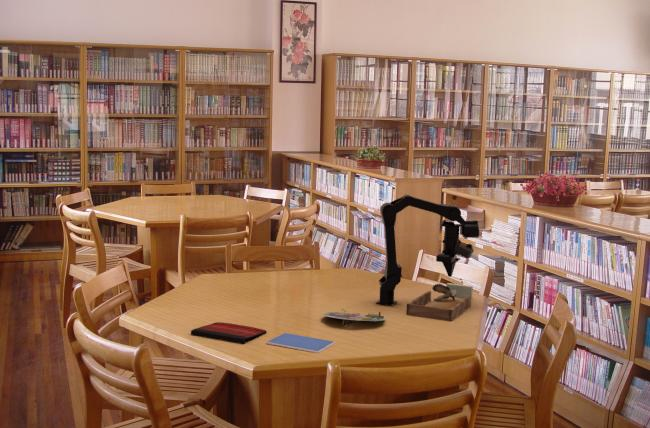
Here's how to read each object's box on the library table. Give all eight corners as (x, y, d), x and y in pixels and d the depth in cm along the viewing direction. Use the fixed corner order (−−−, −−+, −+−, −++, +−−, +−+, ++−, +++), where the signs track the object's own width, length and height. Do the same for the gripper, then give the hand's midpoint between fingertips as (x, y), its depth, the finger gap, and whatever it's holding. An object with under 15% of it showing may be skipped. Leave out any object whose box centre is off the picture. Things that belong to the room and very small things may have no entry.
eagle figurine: (450, 294, 321) (429, 290, 319) (456, 282, 317) (436, 278, 315) (453, 308, 315) (432, 304, 314) (460, 296, 311) (439, 292, 309)
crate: (451, 321, 285) (451, 310, 284) (406, 314, 292) (406, 304, 292) (470, 306, 307) (471, 296, 306) (428, 300, 314) (428, 290, 314)
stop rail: (470, 299, 318) (471, 287, 318) (445, 295, 323) (446, 284, 322) (472, 298, 320) (472, 286, 320) (447, 294, 325) (447, 283, 324)
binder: (244, 338, 251) (190, 329, 260) (244, 345, 251) (190, 336, 260) (269, 328, 266) (217, 320, 275) (269, 335, 266) (217, 326, 275)
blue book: (336, 344, 255) (336, 340, 255) (318, 355, 244) (318, 351, 244) (284, 336, 263) (284, 332, 263) (265, 345, 252) (265, 341, 252)
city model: (395, 322, 290) (395, 305, 290) (382, 331, 267) (383, 313, 267) (330, 317, 297) (330, 301, 297) (312, 326, 274) (313, 308, 274)
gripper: (464, 242, 294) (463, 283, 296) (478, 236, 311) (476, 274, 313) (436, 240, 299) (434, 280, 301) (451, 233, 316) (449, 271, 318)
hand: (450, 276), depth 308 cm, fingers closed
